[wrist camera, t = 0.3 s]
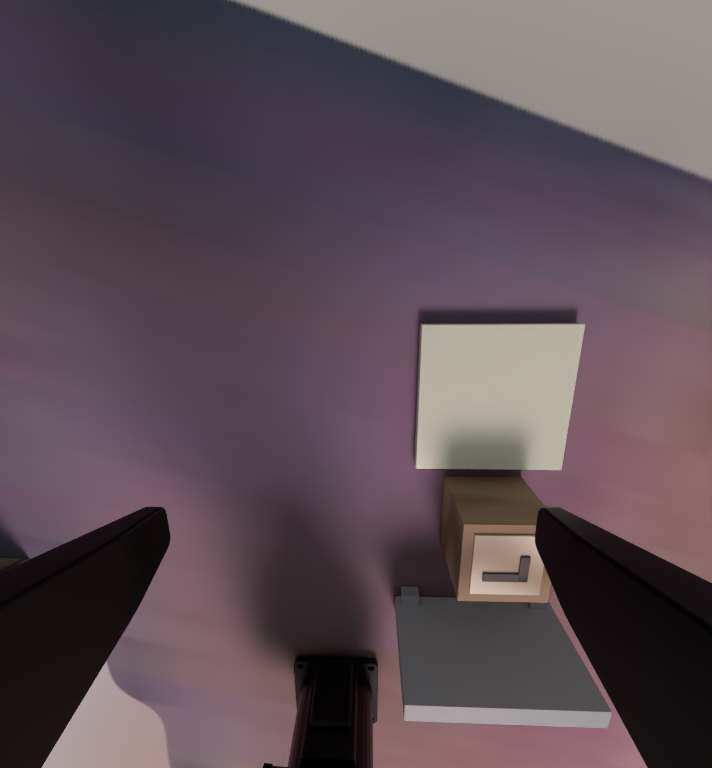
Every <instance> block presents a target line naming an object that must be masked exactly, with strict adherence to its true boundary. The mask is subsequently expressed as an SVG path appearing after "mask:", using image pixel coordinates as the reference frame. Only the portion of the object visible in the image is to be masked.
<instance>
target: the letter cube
mask: <svg viewBox="0 0 712 768" xmlns="http://www.w3.org/2000/svg"><path fill="white" fill-rule="evenodd" d="M541 507H545V506H544V505H543V503H542V502H541V501H540V500H539V498H538V497H537V496H536V495H535V493H534V492H533V491H532V490H531V489H530V487H529V486H528V485H527V484H526V482H525V481H524V480H523V479H522V478H521V477H479V476H444V486H443V502H442V517H441V532H440V542H441V546H442V549H443V552H444V556H445V559H446V563H447V566H448V570H449V573H450V577H451V580H452V584H453V587H454V591H455V594H456V598H457V601H489V602H536V603H548V599H549V593H550V587H551V581H550V579H549V576H548V574H547V572H546V569H545V567H544V565H543V562H542V560H541V558H540V555H539V553H538V551H537V548H536V544H535V531H536V523H537V514H538V511H539V509H540V508H541Z"/></svg>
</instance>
